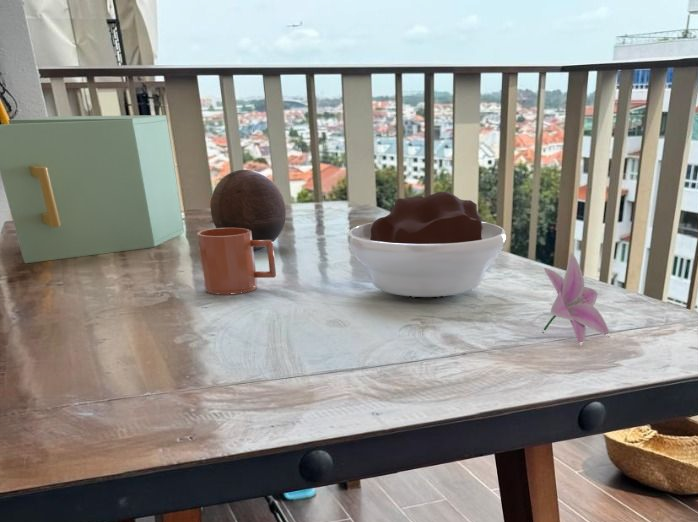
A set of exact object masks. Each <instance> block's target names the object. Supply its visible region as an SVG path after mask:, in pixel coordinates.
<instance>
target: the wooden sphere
mask: <svg viewBox="0 0 698 522" xmlns="http://www.w3.org/2000/svg"><path fill="white" fill-rule="evenodd" d="M211 197H212V198H211ZM211 197H210V201H211V207H210V215H211V219H212V222H213V224H214V227H215V228H245V229H249V230H251V233H252V240H271V241H272V242H273V243H274V242H275V241H276V240H277V239H278V238H279V236H280V235H281V233H282V231H283V229H284V227H285V223H286V219H287V218H286V217H287V215H286V214H287V210H286V209H287V208H286V203H285V200H284V197H283V194H282V192H281V191H280V189H279V187H278V186H277V184H276V183H275V182H274V181H273V180H272V179H271V178H269V177H268V176H266V175H265V174H263V173H262V172H259V171H257V170H256V171H255V170H252V169H238V170H235V171H232V172H229V173H228V174H226V175H225V176H224V177H222V178H221V179H220V180H219V181H218V182H217V184H216V186H215V187H214V189H213V192H212V194H211ZM260 249H261V250H262V249H265V247H253V251H258V250H260Z"/></svg>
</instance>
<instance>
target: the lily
mask: <svg viewBox="0 0 698 522" xmlns="http://www.w3.org/2000/svg"><path fill="white" fill-rule="evenodd" d="M543 270H544V272H545V274H546V276H547V277H548V280H550V282H551V284H552V286H553V287H554V289H555V292H556V293H557V296H556V297H555V300H554V302H553V303H552V305H551V308H550V313H551V314H552V317H551V318H550V319H549V321H548V322H547V323H546V325H545V326H544V328H543V329H544V330H545V331H546V330H547V329H548V328H549V326H550V325H551V323H552V322H553V321H554V319H555V318H557V317H558V318H561V319H565V320H568V321H570V323H571V326H572V329H573V331H574V334H575V338H576V339H577V343H578V344H579V343H580V342H583V341H584V342H585V338H586V331H587V330H586V329H587V328H590V329H591V330H593V331H596V332H597V333H600V334H601V335H603V336H605V335H606V334H608V333H610V330H609V327H608V326H607V323H606V321H605V320H604V317H603V316H602V314H601V313H600V311H599V310H598V309H597V308H596V306H595V304H596V302H597V299H598V295H599V294H598V292H597V290H595V289H593V288H591V287H588V286H585V278H584V274H583V271H582V269H581V266H580V264H579V261H578V259H577V257H576V256H575V254H574V253H573V252H570V254H569V257H568V262H567V266H566V270H565V272H564V273H565V274H564V278H563V276H562V275H560V274H559V273H557V272H556V271H554V270H552V269H550V268H547V267H544V268H543ZM586 327H587V328H586ZM542 333H543V334H544V333H545V332H542ZM610 337H611V335H610V336H608V337H607V338H610ZM582 347H583V345H582V346H579V348H580V349H581V348H582Z"/></svg>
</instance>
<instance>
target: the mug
mask: <svg viewBox="0 0 698 522" xmlns="http://www.w3.org/2000/svg"><path fill="white" fill-rule="evenodd" d="M196 239H197V245H198V252H199V259H200V265H201V272H202V279H203V286H204V290H205V292H206V293H208V294H210V295H211V294H212V295H216V294H215V293H219V294H217V295H218V296H219V295H220V296H221V295H222V296H227V295H228V296H229V295H233V294H231V293H236V294H235V295H241V294H246V293H251V292H252V291H255V290H256V289H257V288H258V281H257V280H258V279H272V278H273V279H274V278H275V277H276V276H277V271H276V261H275V251H274V242H272V241H271V240H252V233H251V230H249V229H245V228H216V227H215V228H209V229H208V228H207V229H203V230H200V231H198V232H196ZM253 247H264V248H266V249H267V251H266V252H267V259H268V261H267V262H268V268H269V269H268V270H269V271H267V270H265V271H263V270H262V271H260V270H259V271H258V270H257V271H256V269H257V268H256V261H255V254H254V252H255V250H253ZM207 291H208V292H207ZM247 291H248V292H247ZM210 292H211V293H210ZM241 292H243V293H241Z"/></svg>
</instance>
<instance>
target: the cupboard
mask: <svg viewBox="0 0 698 522" xmlns="http://www.w3.org/2000/svg"><path fill="white" fill-rule="evenodd" d="M109 120H132V125H133V130H134V136H135V142H136V147H137V153H138V158H139V164H140V170H141V175H142V181H143V187H144V192H145V198H146V204H147V209H148V215H149V221H150V226H151V232H152V238H153V243H154V247H153V248H155V247H157V246H159V245H162V244H163V243H166V242H167V241H170V240H171V239H174V238H176V237H177V236H180V235H181V234H184V233H185V228H184V227H185V226H184V222H183V221H184V220H183V215H182V209H181V202H180V196H179V195H180V194H179V189H178V188H179V187H178V183H177V176H176V170H175V163H174V157H173V150H172V144H171V138H170V130H169V124H168V117H167V114H154V115H150V114H149V115H147V114H145V115H64V116H63V115H56V116H53V115H52V116H41V117H40V116H39V117H29V118H28V117H27V118H14V119H8V120H7V121H8V124H28V123H55V122H82V121H109Z"/></svg>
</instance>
